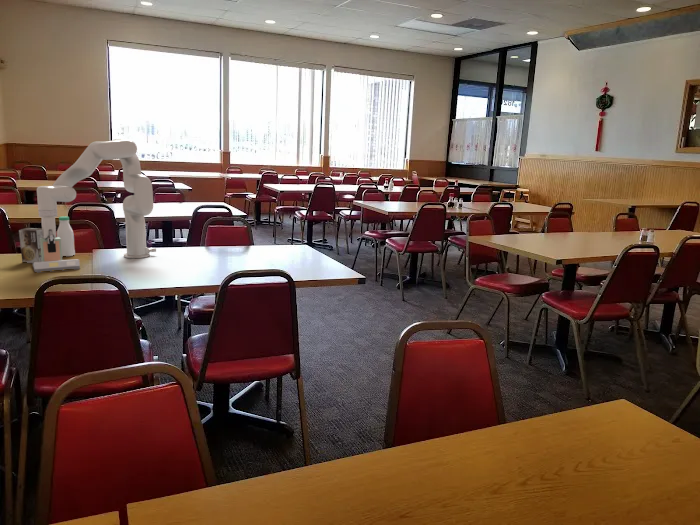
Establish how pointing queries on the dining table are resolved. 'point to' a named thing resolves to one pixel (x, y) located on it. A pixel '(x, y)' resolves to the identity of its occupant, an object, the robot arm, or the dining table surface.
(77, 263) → the shelf board
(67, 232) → the milk bottle
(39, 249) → the coffee box
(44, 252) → the box
